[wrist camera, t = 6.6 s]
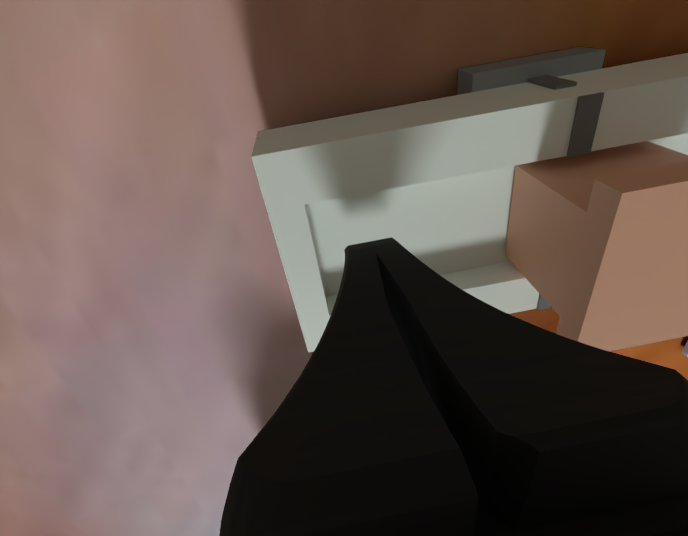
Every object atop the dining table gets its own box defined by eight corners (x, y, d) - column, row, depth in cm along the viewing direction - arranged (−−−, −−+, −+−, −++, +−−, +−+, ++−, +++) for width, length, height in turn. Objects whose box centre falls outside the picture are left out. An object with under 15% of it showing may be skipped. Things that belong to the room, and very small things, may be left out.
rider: (655, 112, 11) (818, 156, 7) (611, 252, 13) (716, 330, 10) (519, 137, 11) (622, 193, 7) (502, 273, 13) (572, 358, 10)
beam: (775, 11, 12) (938, 10, 9) (683, 227, 17) (771, 274, 14) (256, 105, 12) (244, 137, 9) (307, 299, 16) (311, 364, 13)
